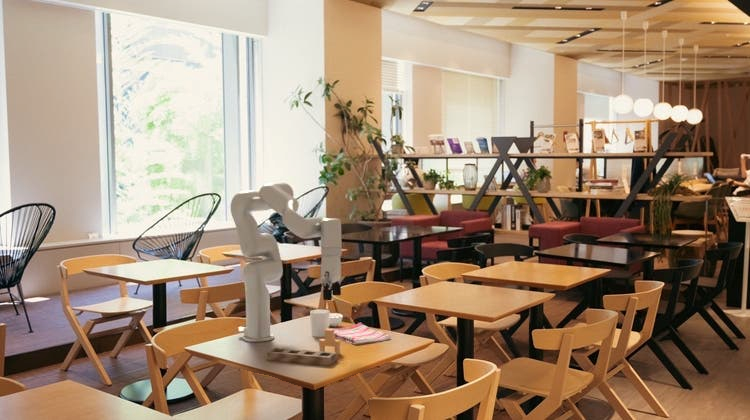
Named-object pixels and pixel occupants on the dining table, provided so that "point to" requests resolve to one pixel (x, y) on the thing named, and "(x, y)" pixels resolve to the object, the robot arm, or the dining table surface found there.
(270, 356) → the wooden compartment tray
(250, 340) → the robot arm
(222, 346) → the dining table surface
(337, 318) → the white bowl
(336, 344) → the clip
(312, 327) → the white cup
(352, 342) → the dish towel
